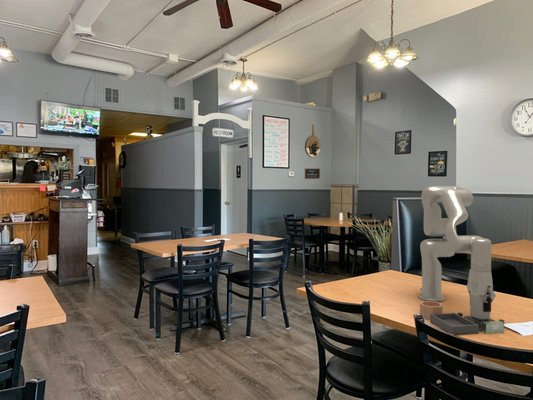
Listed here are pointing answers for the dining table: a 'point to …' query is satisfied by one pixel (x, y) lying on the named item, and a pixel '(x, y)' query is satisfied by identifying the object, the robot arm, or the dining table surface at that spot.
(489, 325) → the cradle base
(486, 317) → the gray cylinder
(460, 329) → the dark grey tray
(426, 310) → the cup
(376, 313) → the dining table surface
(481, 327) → the cradle plate
